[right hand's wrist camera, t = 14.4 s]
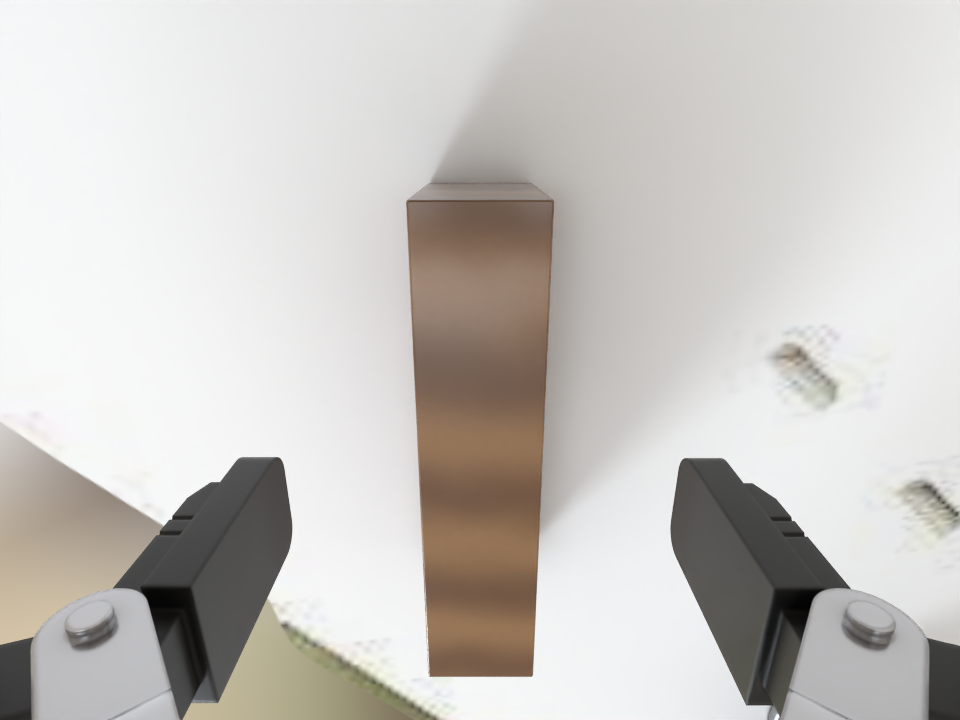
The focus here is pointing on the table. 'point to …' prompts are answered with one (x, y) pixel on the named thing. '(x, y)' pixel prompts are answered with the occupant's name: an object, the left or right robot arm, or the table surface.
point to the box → (480, 416)
